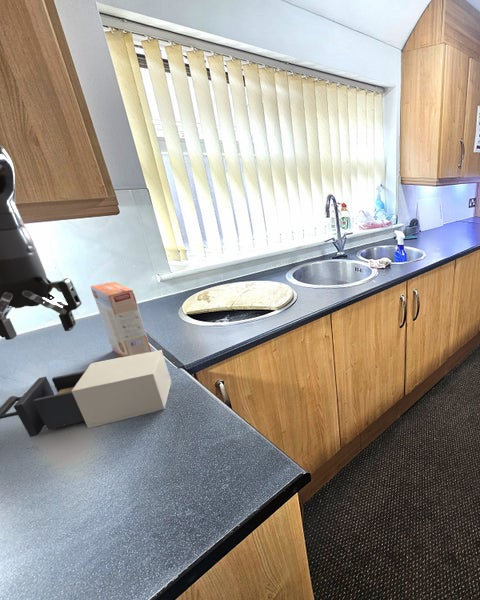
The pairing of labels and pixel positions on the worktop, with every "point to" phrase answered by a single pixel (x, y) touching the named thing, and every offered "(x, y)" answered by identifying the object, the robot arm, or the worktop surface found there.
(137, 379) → the cream rectangular box
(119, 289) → the cracker box
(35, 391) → the dark grey drawer
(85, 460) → the worktop surface
